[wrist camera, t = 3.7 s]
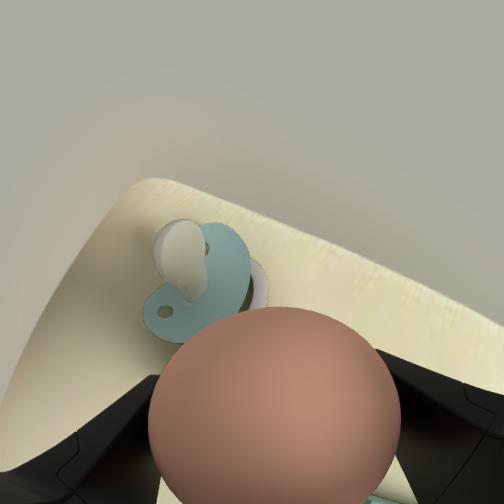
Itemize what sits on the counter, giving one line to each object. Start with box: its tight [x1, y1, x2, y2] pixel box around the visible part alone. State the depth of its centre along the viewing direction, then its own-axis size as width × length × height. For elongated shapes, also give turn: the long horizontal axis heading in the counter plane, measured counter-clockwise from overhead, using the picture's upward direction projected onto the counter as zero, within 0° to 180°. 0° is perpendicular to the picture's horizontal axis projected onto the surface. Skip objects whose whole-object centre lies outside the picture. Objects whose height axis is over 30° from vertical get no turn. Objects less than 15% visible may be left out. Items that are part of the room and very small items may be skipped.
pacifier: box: [143, 219, 268, 343], centre depth 14 cm, size 7×6×6 cm
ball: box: [148, 307, 401, 504], centre depth 6 cm, size 6×6×6 cm
